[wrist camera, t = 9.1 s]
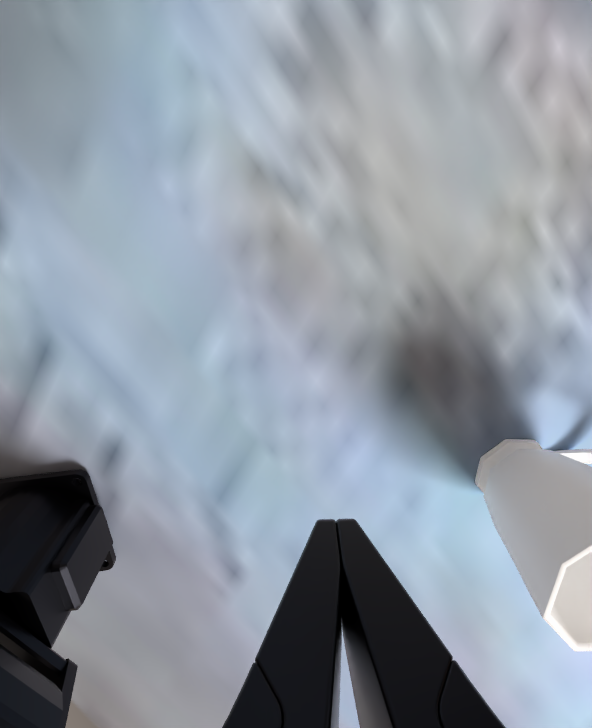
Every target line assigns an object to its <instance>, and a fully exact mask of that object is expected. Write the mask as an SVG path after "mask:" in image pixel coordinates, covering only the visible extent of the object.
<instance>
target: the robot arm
mask: <svg viewBox="0 0 592 728" xmlns="http://www.w3.org/2000/svg"><path fill="white" fill-rule="evenodd" d="M76 478H78V479H80V480H81V481H82V482H79V481H77V480H76ZM112 544H113V540H112V537H111V534H110V531H109V528H108V524H107V521H106V518H105V515H104V512H103V509H102V507H101V506H100V505H99V503H98V500H97V497H96V494H95V491H94V488H93V485H92V482H91V479H90V476H89V474H88V473H87V472H85V471H83V470H72V471H64V472H55V473H47V474H39V475H30V476H22V477H14V478H5V479H0V728H65V726H66V721H67V716H68V711H69V706H70V701H71V696H72V691H73V686H74V682H75V677H76V672H77V665H76V664H75V663H73V662H72V661H71V660H70V659H66V660H65V659H64V658H62V657H61V656H60V655H59V654H57V653H56V652H55V651H53V650H52V649H51V648H52V646H53V644H54V642H55V640H56V638H57V636H58V635H59V633H60V631H61V629H62V627H63V625H64V623H65V621H66V619H67V617H68V615H69V614H70V612H71V611H72V610H78V609H79V608H80V606H81V605H82V604H83V602H84V600H85V598H86V596H87V594H88V592H89V590H90V588H91V586H92V584H93V582H94V580H95V578H96V576H97V574H98V572H99V571H105V570H109V569H111V568H112V567H113V565H114V563H115V561H116V556H115V553H114V550H113V546H112ZM104 560H106V561H104ZM342 630H343V637H344V643H345V649H346V654H347V660H348V665H349V671H350V676H351V681H352V687H353V692H354V698H355V703H356V709H357V714H358V720H359V725H360V728H506V727H505V726H504V725H503V724H502V722H501V721H500V720H499V719H498V717H497V716H496V715H495V714H494V712H493V711H492V710H491V708H490V707H489V706H488V704H487V703H486V702H485V700H484V699H483V698H482V696H481V695H480V694H479V692H478V691H477V690H476V688H475V687H474V686H473V684H472V683H471V682H470V680H469V679H468V677H467V676H466V674H465V673H464V672H463V670H462V669H461V667H460V666H459V665H458V663H457V662H456V661H455V660H454V661H452V660H453V657H452V655H451V654H450V652H449V651H448V649H447V648H446V647H445V645H444V644H443V642H442V641H441V640H440V638H439V637H438V635H437V634H436V633H435V631H434V630H433V628H432V627H431V625H430V624H429V623H428V621H427V620H426V618H425V617H424V616H423V614H422V613H421V611H420V610H419V609H418V607H417V606H416V604H415V603H414V602H413V600H412V599H411V597H410V596H409V594H408V593H407V592H406V590H405V589H404V587H403V586H402V585H401V583H400V582H399V580H398V579H397V578H396V576H395V575H394V573H393V572H392V571H391V569H390V568H389V566H388V565H387V563H386V562H385V561H384V559H383V558H382V556H381V555H380V554H379V552H378V551H377V549H376V548H375V547H374V545H373V544H372V542H371V541H370V540H369V538H368V537H367V535H366V534H365V532H364V531H363V530H362V528H361V527H360V525H359V524H358V523H357V521H356V520H354V519H338V520H337V521H335V520H334V519H320V520H318V521H317V522H316V523H315V526H314V528H313V530H312V532H311V535H310V537H309V539H308V541H307V544H306V546H305V548H304V550H303V553H302V555H301V557H300V559H299V562H298V564H297V566H296V568H295V571H294V573H293V575H292V577H291V580H290V582H289V584H288V586H287V589H286V591H285V593H284V595H283V598H282V600H281V602H280V604H279V607H278V609H277V611H276V613H275V616H274V618H273V620H272V622H271V625H270V627H269V629H268V631H267V634H266V636H265V638H264V640H263V643H262V645H261V647H260V649H259V652H258V654H257V656H256V658H255V662H256V663H253V664H252V667H251V669H250V671H249V673H248V676H247V678H246V680H245V682H244V685H243V687H242V689H241V691H240V693H239V695H238V697H237V699H236V701H235V703H234V705H233V708H232V710H231V712H230V714H229V716H228V718H227V720H226V721H225V723H224V725H223V727H222V728H339V700H340V673H341V645H342Z"/></svg>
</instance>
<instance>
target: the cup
mask: <svg viewBox="0 0 592 728" xmlns="http://www.w3.org/2000/svg"><path fill="white" fill-rule="evenodd" d="M584 463H587V464H592V449H575V450H557V451H551V450H543V449H542V448H541V446H540V445H539V444H538V443H537V442H536V441H535V440H522V439H505V440H504V441H502V442H501V443H499V444H498V445H497V446H495V447H494V448H493V449H491V450H490V451H488V452H487V453H486V454H484V455H483V456H482V457H480V462H479V466H478V470H477V474H476V478H475V484H476V485H477V486H478V487H479V488H480V489H481V491H482V492H483V493H484V499H485V502H486V504H487V507H488V510H489V512H490V515H491V518H492V520H493V523H494V526H495V528H496V530H497V532H498V533H499V535H500V537H501V539H502V541H503V543H504V545H505V546H506V548H507V550H508V552H509V554H510V556H511V558H512V560H513V561H514V563H515V565H516V567H517V569H518V571H519V573H520V575H521V577H522V579H523V581H524V583H525V585H526V587H527V589H528V591H529V593H530V595H531V597H532V599H533V600H534V602H535V604H536V606H537V608H538V610H539V612H540V614H541V616H542V617H543V619H544V620H545V621H546V622H547V623H548V624H549V625H550V626H551V627H552V628H553V629H554V630H555V631H556V632H557V633H558V634H559V635H560V636H561V638H562V639H563V640H564V641H565V642H566V643H567V644H568V645H569V646H570V647H571V648H572V649H573V650H574V651H592V467H590V466H588V465H586V464H584Z"/></svg>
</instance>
